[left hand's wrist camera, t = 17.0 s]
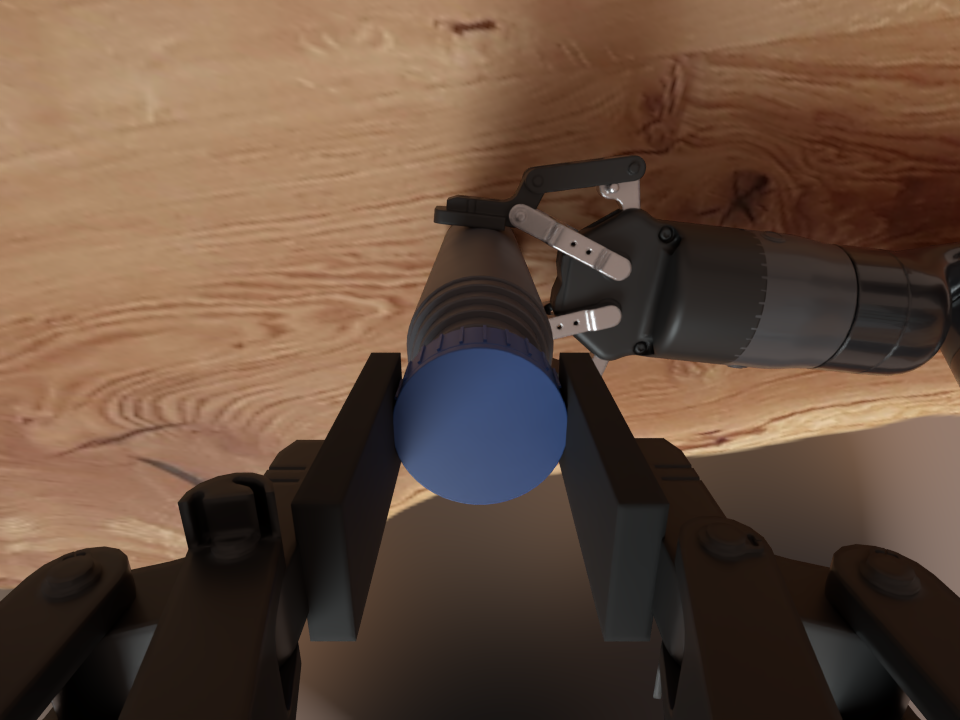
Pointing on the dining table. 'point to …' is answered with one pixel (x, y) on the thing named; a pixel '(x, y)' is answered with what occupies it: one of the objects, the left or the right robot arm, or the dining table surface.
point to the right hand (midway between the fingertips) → (432, 265)
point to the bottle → (480, 291)
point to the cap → (480, 416)
